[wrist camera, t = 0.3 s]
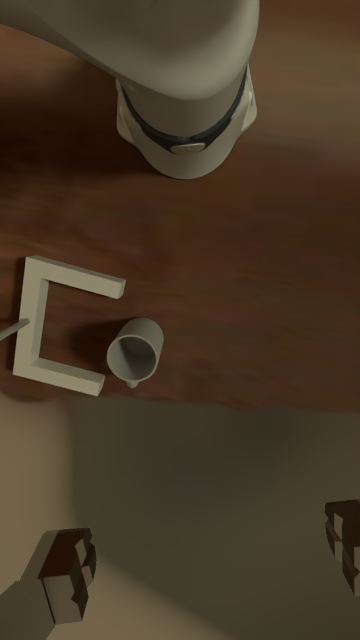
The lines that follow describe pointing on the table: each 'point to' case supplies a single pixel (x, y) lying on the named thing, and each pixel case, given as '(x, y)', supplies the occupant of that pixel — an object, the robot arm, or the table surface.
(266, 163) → the table surface
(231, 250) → the table surface
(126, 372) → the cup
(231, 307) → the table surface
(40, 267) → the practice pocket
